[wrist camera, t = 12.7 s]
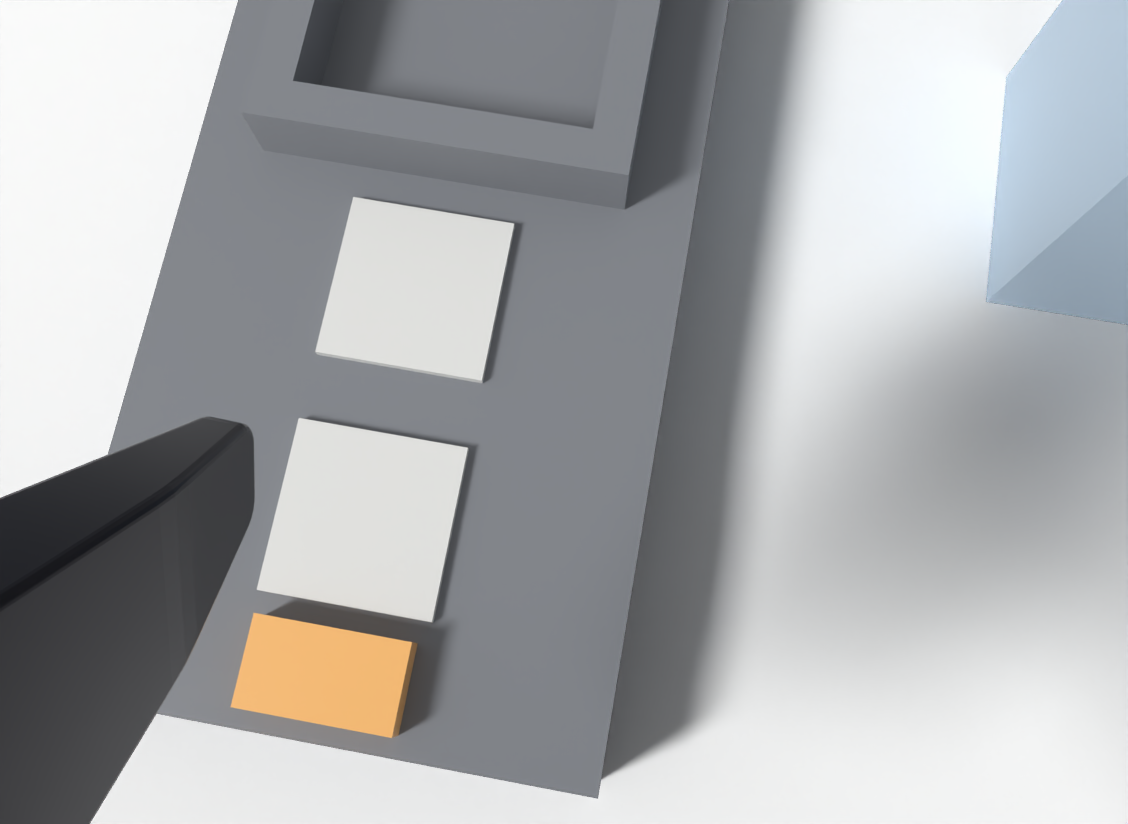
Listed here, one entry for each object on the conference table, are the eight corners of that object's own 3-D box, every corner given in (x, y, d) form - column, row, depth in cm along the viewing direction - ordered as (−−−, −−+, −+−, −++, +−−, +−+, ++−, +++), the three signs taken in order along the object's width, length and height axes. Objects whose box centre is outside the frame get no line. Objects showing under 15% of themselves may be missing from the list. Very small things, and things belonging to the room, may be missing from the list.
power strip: (595, 783, 21) (600, 809, 17) (101, 688, 21) (-5, 692, 17) (739, -88, 25) (769, -225, 21) (331, -149, 26) (287, -294, 22)
